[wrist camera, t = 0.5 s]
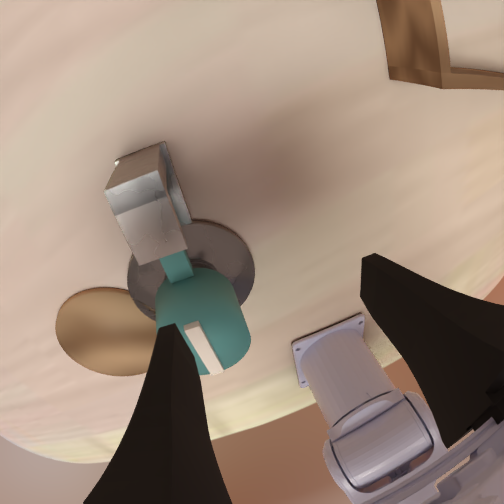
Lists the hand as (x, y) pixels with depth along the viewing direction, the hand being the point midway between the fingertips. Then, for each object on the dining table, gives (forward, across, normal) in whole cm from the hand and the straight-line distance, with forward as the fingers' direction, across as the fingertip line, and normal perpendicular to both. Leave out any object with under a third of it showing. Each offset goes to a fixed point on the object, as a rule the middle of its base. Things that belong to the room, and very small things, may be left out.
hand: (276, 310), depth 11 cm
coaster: (+10, +12, +8) cm, 17 cm away
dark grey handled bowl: (+10, +4, +2) cm, 11 cm away
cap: (+7, +4, +2) cm, 9 cm away
